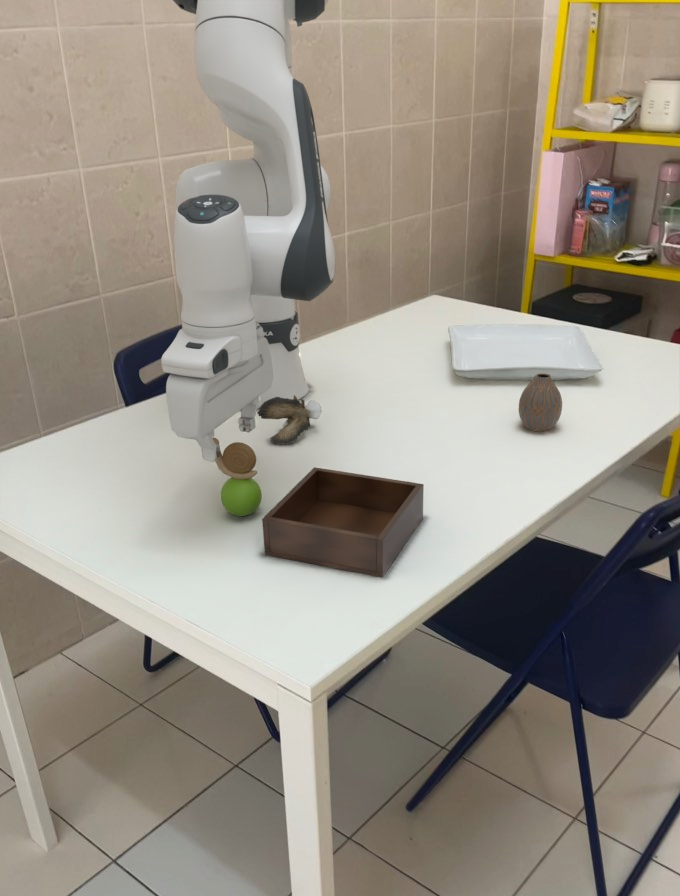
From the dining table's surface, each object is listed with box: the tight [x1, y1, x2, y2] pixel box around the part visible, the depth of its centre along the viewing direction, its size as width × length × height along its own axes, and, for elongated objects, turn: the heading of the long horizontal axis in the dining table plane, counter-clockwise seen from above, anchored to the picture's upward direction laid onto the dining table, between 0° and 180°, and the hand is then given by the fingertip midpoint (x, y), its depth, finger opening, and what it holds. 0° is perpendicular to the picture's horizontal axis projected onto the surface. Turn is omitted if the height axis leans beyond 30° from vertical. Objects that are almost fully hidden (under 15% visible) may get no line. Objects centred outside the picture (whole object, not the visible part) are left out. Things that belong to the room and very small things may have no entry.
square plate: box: [447, 323, 604, 381], centre depth 170 cm, size 27×27×4 cm
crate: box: [261, 466, 425, 578], centre depth 111 cm, size 16×16×5 cm
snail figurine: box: [212, 437, 263, 517], centre depth 115 cm, size 5×6×12 cm
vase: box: [518, 373, 563, 432], centre depth 141 cm, size 7×7×9 cm
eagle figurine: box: [256, 395, 323, 446], centre depth 140 cm, size 8×7×9 cm
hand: (230, 443), depth 114 cm, fingers open, 8 cm apart
